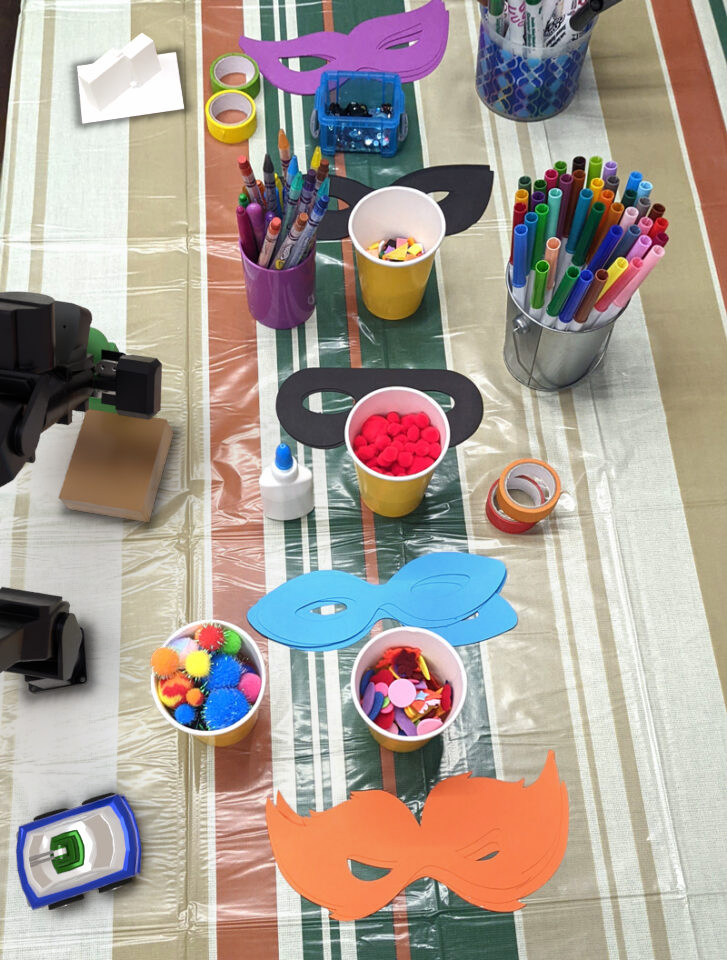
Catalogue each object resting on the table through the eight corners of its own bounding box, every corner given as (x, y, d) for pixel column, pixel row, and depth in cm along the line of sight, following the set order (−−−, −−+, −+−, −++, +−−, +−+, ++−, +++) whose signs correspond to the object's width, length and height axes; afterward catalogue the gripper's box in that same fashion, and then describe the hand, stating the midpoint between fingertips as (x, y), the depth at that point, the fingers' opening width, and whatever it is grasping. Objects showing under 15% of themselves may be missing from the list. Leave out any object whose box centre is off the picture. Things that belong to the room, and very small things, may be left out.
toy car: (24, 823, 94) (-12, 823, 86) (134, 786, 96) (110, 783, 87) (39, 915, 91) (4, 925, 82) (153, 876, 92) (130, 882, 84)
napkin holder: (82, 124, 128) (70, 94, 123) (76, 66, 132) (63, 34, 127) (185, 108, 129) (177, 77, 124) (175, 51, 134) (167, 18, 128)
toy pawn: (129, 415, 104) (98, 360, 92) (88, 409, 105) (51, 353, 93) (140, 378, 106) (111, 320, 94) (99, 372, 106) (65, 313, 94)
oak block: (149, 522, 106) (141, 511, 103) (68, 509, 107) (58, 498, 103) (173, 432, 111) (166, 419, 107) (96, 420, 111) (87, 406, 108)
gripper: (134, 329, 82) (185, 297, 96) (-59, 300, 83) (20, 272, 97) (132, 441, 86) (181, 394, 100) (-51, 412, 87) (23, 370, 102)
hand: (102, 356), depth 100 cm, fingers closed on toy pawn, 4 cm apart
